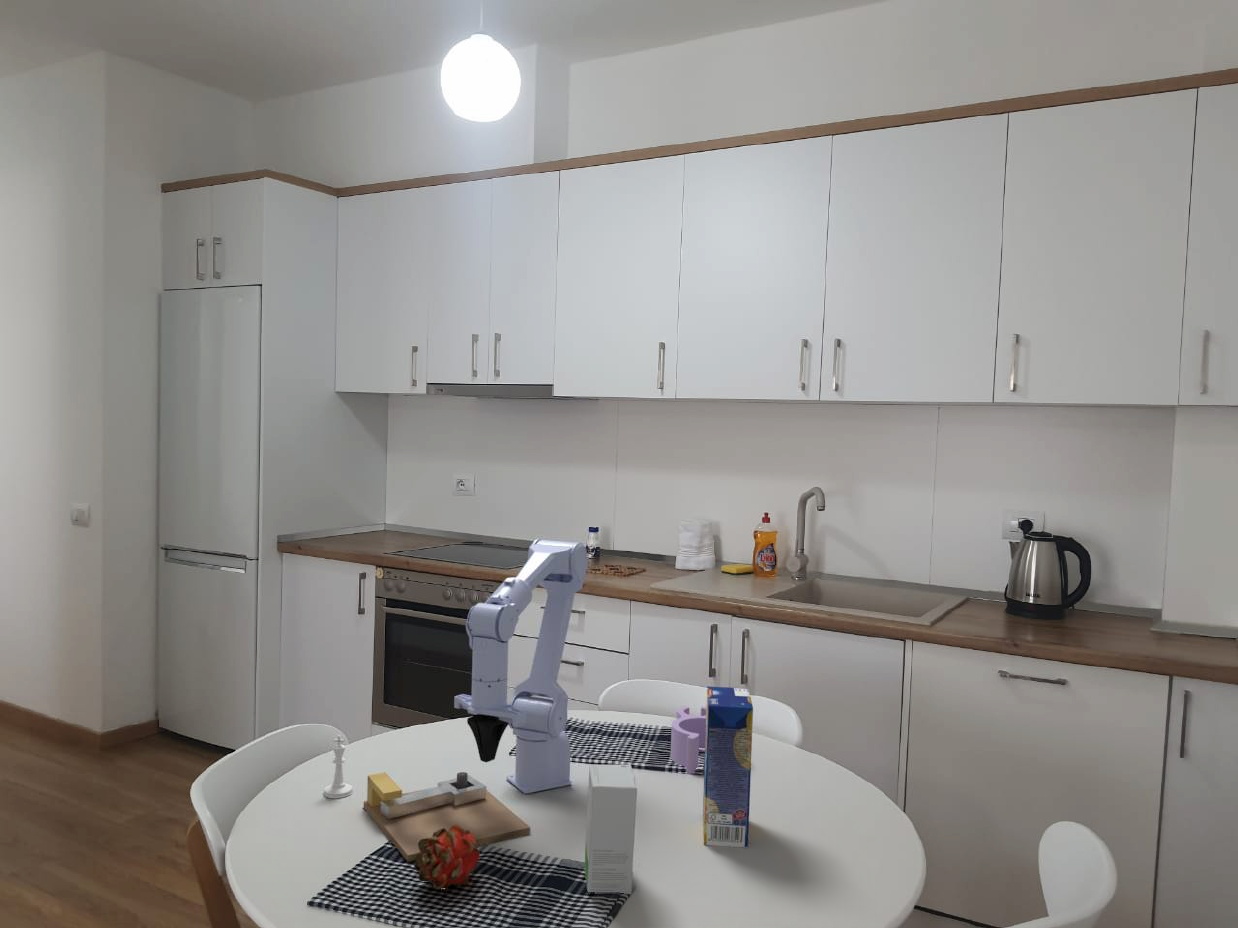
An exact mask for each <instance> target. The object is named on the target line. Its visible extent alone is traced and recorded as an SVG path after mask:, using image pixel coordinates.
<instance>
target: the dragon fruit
mask: <svg viewBox="0 0 1238 928" xmlns="http://www.w3.org/2000/svg"><path fill="white" fill-rule="evenodd" d="M475 844H476V841H475V837H474V835H473V833H472V832H470V831H469V830H468V829H467V830H464V829H463V828H462V827H460V826H459V825H453V826H452V827H450V829H449V830H448V831H447V829H445V828H443V829H440V830H438V831H436V832H434V833H433V836H432V837H431V838H426V839H421V840H420V841H419V842H418V846H419V850H420V852H419V854H418V855H417V856H416V860H415V861H414V863H413V868H414V871H416V872H418V876H417V877H418V879H419V881H420V882H426V883H430V882H431V883H432V887H433V889H436V890H439V889H441V888H442V887H443V888H445V890H446V889H448V888H449V886H451V885H455V886H457V887H459V886H462V885H463V887H466V886H467V885H468V884H469V881H470V878H469V874H470V873H471V872H472V870H473V869H475V868H476V867H477V866H478V863H479V861H480V855H481V853H480V850H479V848H478V846H476V845H475Z"/></svg>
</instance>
